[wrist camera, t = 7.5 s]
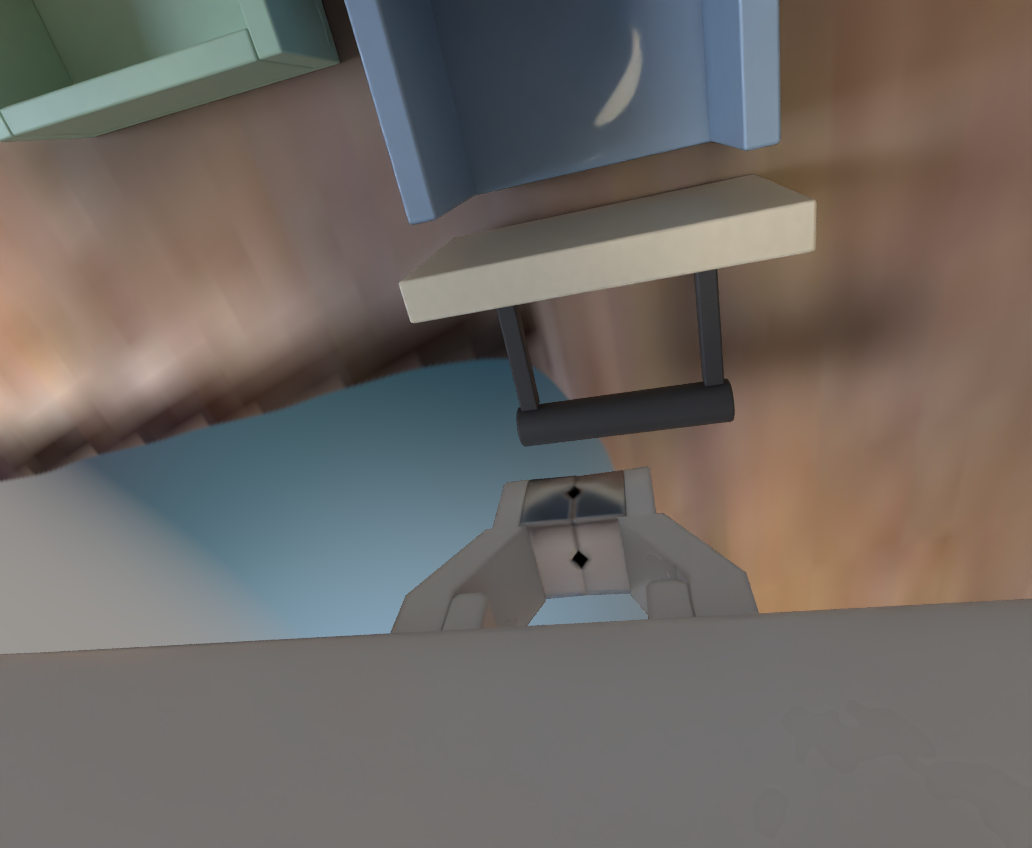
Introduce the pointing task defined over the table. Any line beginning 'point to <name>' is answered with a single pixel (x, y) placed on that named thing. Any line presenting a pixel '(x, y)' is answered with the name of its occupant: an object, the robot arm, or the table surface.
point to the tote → (145, 59)
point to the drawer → (582, 166)
